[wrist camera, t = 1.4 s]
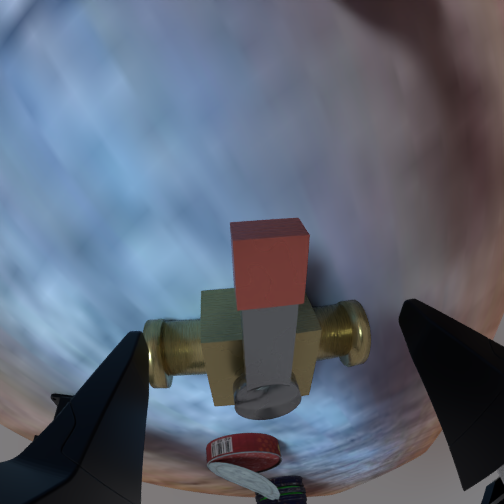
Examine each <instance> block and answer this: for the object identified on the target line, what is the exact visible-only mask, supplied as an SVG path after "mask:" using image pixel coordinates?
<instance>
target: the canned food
mask: <svg viewBox="0 0 504 504" xmlns="http://www.w3.org/2000/svg"><path fill="white" fill-rule="evenodd" d="M206 454H207V467H208V469H209V470H210V471H212V472H214V473H215V474H216V475H217V476H220V477H222V478H224V479H226V480H228V481H230V482H233V483H236V484H238V485H240V486H242V487H245V488H248V489H250V490H252V491H254V492H257V493H259V494H261V495H263V496H264V497H266V498H268V499H271V500H274V499H279V497H280V493H279V491H278V489H277V487H276V486H275V485H274V484H273V483H272V482H271V481H269V480H268V479H267V478H265V477H263V476H262V475H260V474H258V473H260V472H264V471H267V470H270V469H272V468H274V467H276V466H278V465H279V464H280V463H281V461H282V458H281V454H280V449H279V444H278V440H277V439H276V438H275V437H273V436H271V435H267V434H261V433H240V434H232V435H227V436H223V437H220V438H217V439H215V440H213V441H211V442H210V443H208V445H207V447H206Z"/></svg>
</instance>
